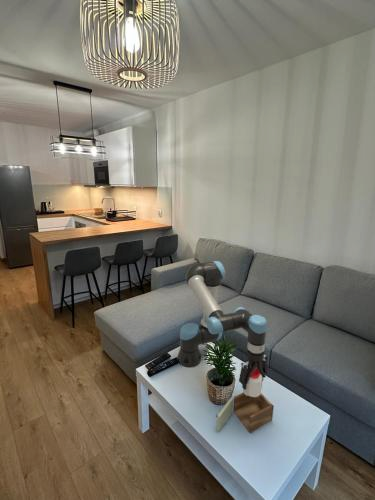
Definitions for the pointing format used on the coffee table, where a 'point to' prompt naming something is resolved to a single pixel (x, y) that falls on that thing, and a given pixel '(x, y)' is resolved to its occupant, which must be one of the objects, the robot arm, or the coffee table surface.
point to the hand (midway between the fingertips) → (252, 390)
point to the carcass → (253, 411)
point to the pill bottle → (255, 383)
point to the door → (224, 414)
